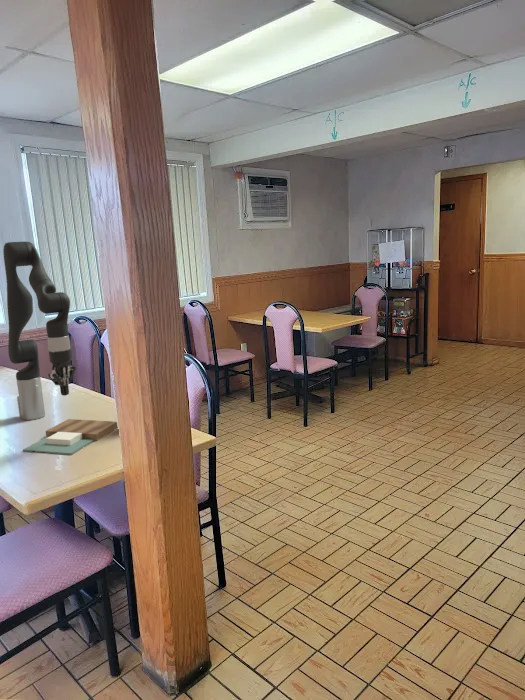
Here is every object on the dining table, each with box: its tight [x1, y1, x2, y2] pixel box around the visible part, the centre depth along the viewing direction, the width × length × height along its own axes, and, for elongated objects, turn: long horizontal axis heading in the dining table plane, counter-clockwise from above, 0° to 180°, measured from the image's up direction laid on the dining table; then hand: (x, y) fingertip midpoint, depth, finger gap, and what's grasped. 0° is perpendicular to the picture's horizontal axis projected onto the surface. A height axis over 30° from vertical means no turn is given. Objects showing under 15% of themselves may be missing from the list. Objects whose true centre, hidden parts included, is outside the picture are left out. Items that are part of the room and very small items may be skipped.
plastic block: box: [45, 432, 82, 445], centre depth 188 cm, size 10×7×2 cm
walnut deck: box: [45, 418, 119, 442], centre depth 198 cm, size 22×14×2 cm, turn 74°
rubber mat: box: [22, 436, 95, 456], centre depth 185 cm, size 20×13×1 cm, turn 74°
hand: (65, 394), depth 189 cm, fingers closed
